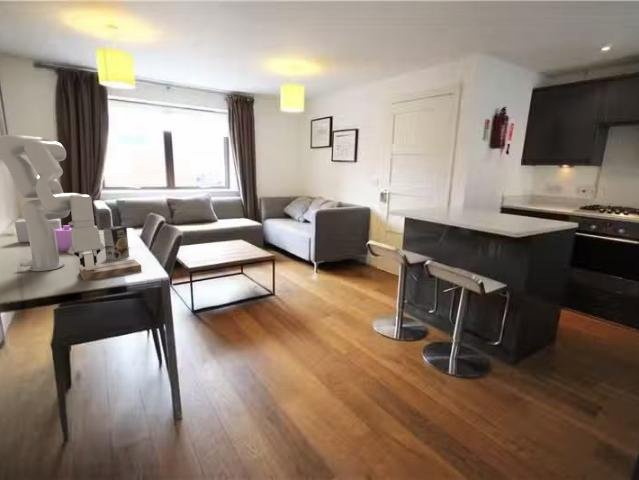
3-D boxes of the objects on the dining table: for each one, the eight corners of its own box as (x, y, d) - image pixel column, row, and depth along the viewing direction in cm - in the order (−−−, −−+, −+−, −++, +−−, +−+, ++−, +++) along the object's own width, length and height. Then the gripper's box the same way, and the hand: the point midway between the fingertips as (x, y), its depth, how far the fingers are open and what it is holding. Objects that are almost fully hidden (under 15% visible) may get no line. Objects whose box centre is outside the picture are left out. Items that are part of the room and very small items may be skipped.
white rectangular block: (86, 270, 142) (83, 254, 140) (84, 268, 145) (82, 252, 143) (94, 269, 144) (92, 253, 142) (92, 266, 147) (91, 251, 146)
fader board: (84, 280, 139) (83, 273, 138) (79, 273, 147) (79, 267, 147) (141, 271, 154) (140, 264, 153) (134, 265, 162) (133, 258, 161)
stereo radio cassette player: (17, 243, 195) (11, 210, 191) (22, 240, 203) (17, 208, 198) (60, 241, 204) (56, 209, 200) (64, 238, 211) (60, 207, 207)
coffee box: (116, 260, 169) (113, 229, 165) (105, 259, 170) (102, 228, 166) (129, 255, 177) (127, 226, 174) (119, 254, 179) (116, 225, 175)
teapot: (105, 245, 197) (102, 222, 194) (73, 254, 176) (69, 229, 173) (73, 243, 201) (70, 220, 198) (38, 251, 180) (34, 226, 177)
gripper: (60, 227, 132) (66, 271, 136) (108, 223, 143) (112, 264, 147) (58, 224, 137) (64, 266, 141) (104, 221, 148) (109, 260, 152)
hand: (89, 264), depth 144 cm, fingers closed on white rectangular block, 3 cm apart
